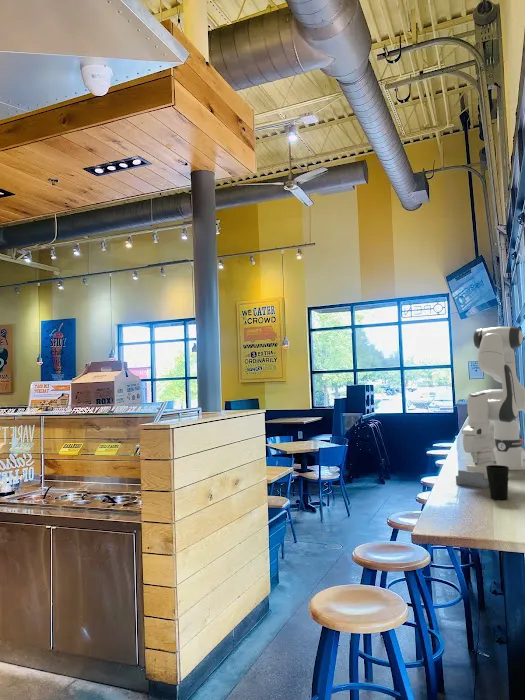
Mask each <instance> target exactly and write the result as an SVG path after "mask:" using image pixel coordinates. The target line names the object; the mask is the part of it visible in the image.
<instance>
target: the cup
mask: <svg viewBox="0 0 525 700" xmlns="http://www.w3.org/2000/svg"><path fill="white" fill-rule="evenodd" d="M486 469H487V476H488V482H489V488H488V489H489V495H490V499H491V500H492V499H493V501H498V500H500V501H501V502H503V501H507V500H508V498H509V497H508V493H509V492H508V491H509V471H510V470H509V467H507V466H501V465H489V466H486ZM500 501H499V502H500Z"/></svg>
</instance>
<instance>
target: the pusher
mask: <svg viewBox="0 0 525 700" xmlns="http://www.w3.org/2000/svg"><path fill="white" fill-rule="evenodd" d="M466 471H471V472H479V473H484V478H485V479H487V478H488V476H487V469H486V467H480V466H475V465H470V464H468V465H466Z"/></svg>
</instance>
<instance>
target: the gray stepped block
mask: <svg viewBox="0 0 525 700" xmlns="http://www.w3.org/2000/svg"><path fill="white" fill-rule="evenodd" d="M457 473H458V474H457V475H455V484H456V485H458V486H465V487H474V488H480V489H490V488H489V482H488V478H487V479H485V478H484V473H479V472H471V471H467V470H462V469H458V471H457Z"/></svg>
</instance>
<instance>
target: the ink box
mask: <svg viewBox="0 0 525 700" xmlns="http://www.w3.org/2000/svg"><path fill="white" fill-rule="evenodd" d="M477 458H479V462H477V463H474V466H480V467H486V466H489V465H497V463H496V459H495V455H494V451H493V448H492V447H488V448H485V449H482V451H480V452H477Z"/></svg>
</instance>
